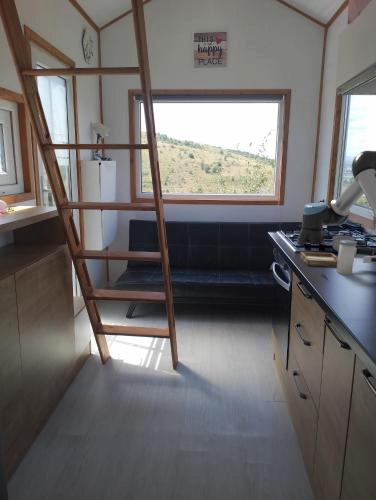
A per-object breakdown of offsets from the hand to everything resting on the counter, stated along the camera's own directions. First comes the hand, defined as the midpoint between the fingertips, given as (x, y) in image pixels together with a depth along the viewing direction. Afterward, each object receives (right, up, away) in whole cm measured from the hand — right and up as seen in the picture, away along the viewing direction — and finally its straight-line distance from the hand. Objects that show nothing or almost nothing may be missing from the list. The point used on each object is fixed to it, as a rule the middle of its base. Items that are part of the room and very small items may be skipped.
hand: (353, 255), depth 171 cm
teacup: (+11, +2, +41) cm, 43 cm away
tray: (-8, -3, +19) cm, 20 cm away
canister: (-3, -8, +2) cm, 8 cm away
